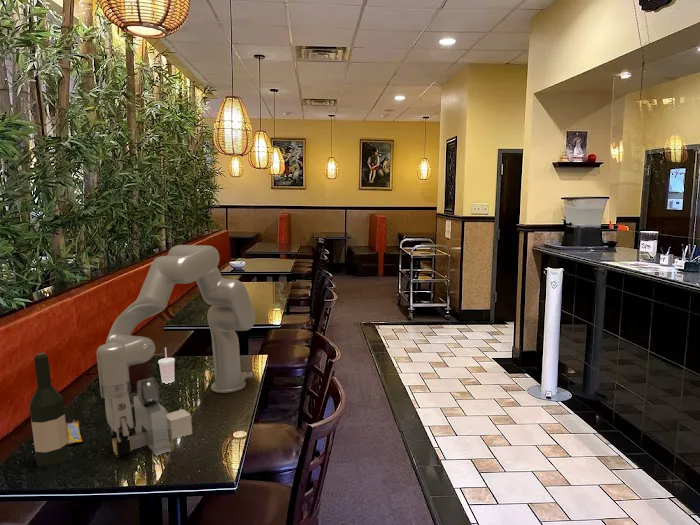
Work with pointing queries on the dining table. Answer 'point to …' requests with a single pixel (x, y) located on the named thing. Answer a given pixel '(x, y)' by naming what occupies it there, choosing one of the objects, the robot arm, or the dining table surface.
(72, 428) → the candy bar
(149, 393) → the bulkhead
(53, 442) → the wine bottle
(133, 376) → the mate gourd
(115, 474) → the dining table surface
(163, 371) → the beverage cup
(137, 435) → the plug
